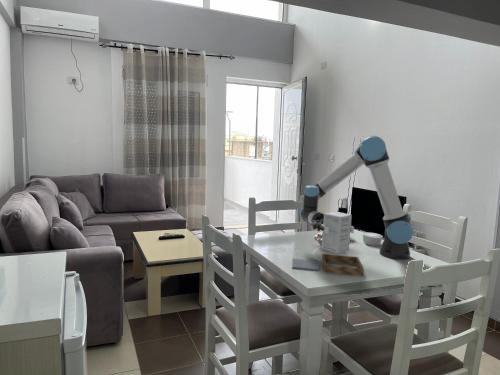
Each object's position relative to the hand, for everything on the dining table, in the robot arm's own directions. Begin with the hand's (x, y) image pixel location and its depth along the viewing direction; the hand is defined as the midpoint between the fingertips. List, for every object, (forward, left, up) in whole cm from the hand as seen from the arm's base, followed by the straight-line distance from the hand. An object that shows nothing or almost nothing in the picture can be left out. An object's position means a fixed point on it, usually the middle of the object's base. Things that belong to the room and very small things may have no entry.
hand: (340, 230), depth 169 cm
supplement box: (+2, -3, -10) cm, 11 cm away
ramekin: (-25, -53, -19) cm, 62 cm away
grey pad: (+14, -2, -18) cm, 24 cm away
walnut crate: (-2, -3, -18) cm, 19 cm away
